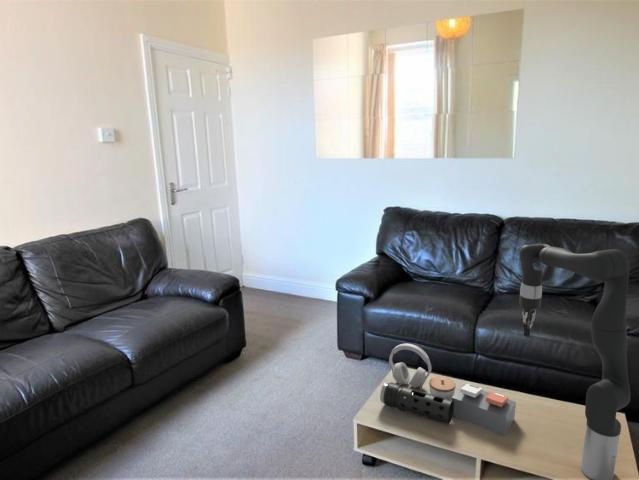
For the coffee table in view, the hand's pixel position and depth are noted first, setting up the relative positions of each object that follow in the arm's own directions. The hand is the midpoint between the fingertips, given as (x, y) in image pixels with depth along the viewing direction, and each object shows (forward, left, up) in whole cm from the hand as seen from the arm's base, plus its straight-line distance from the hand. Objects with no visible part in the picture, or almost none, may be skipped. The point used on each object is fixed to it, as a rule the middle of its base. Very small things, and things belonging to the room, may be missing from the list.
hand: (526, 335), depth 172 cm
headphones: (+44, +13, -32) cm, 56 cm away
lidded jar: (+28, +14, -32) cm, 45 cm away
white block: (+15, +16, -23) cm, 32 cm away
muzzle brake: (+32, +30, -32) cm, 54 cm away
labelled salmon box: (+5, +16, -23) cm, 28 cm away
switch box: (+10, +16, -32) cm, 37 cm away
